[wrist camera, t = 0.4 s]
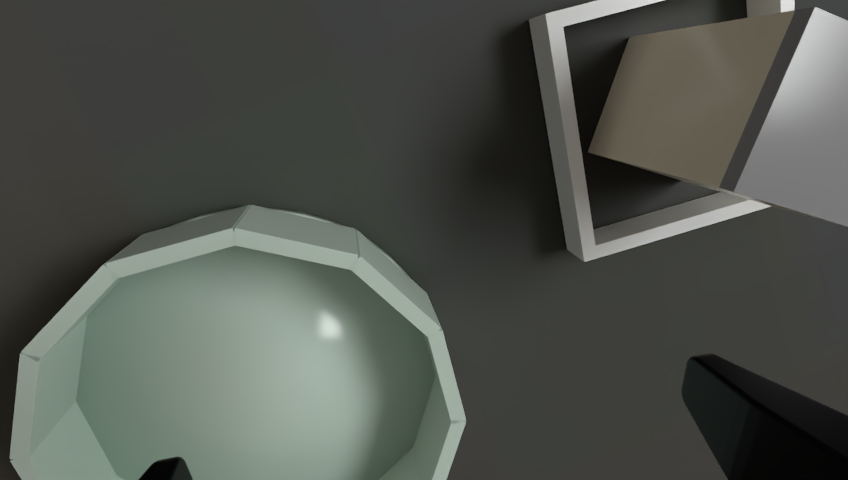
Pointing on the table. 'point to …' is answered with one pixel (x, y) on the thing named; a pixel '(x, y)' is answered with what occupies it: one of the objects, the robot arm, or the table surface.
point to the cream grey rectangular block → (739, 109)
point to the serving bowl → (241, 361)
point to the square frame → (569, 153)
